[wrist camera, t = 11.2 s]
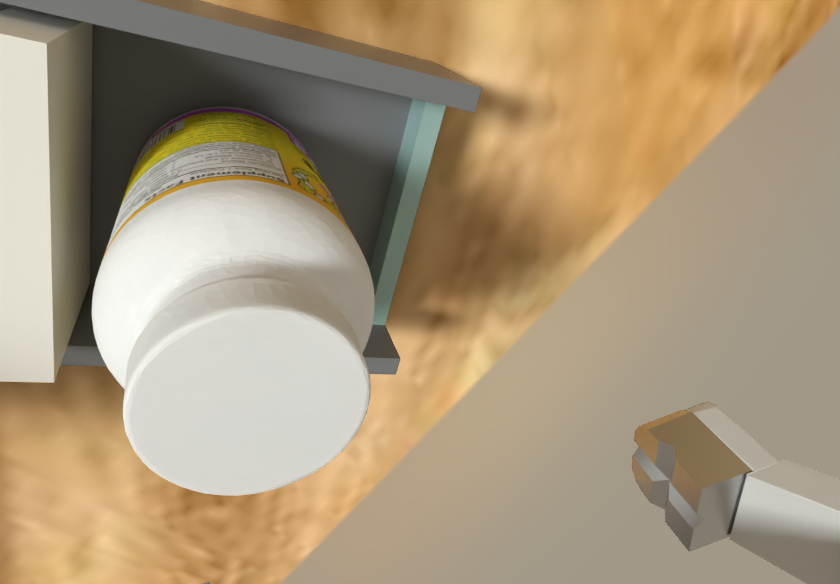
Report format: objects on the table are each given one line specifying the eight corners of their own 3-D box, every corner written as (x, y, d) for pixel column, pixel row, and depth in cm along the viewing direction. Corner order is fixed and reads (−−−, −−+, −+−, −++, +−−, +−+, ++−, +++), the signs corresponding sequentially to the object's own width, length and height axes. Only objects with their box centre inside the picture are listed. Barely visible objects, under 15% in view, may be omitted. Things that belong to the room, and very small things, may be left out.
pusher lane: (368, 311, 28) (409, 406, 22) (-108, 276, 21) (-230, 403, 15) (432, 62, 23) (508, 101, 17) (-167, -97, 16) (-386, -120, 10)
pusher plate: (89, 282, 21) (54, 382, 17) (39, 279, 21) (-13, 381, 16) (92, 15, 17) (46, 43, 13) (30, 1, 17) (-43, 24, 12)
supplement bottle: (319, 262, 24) (407, 498, 14) (149, 276, 22) (101, 564, 12) (316, 99, 21) (428, 246, 10) (116, 98, 19) (8, 278, 8)
